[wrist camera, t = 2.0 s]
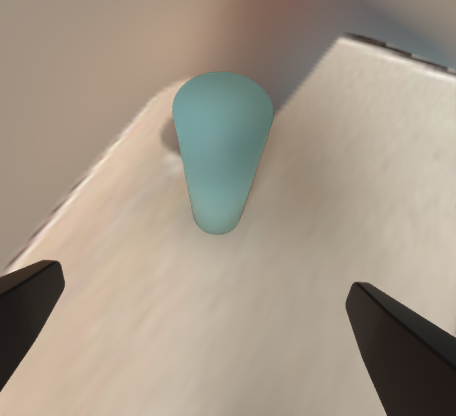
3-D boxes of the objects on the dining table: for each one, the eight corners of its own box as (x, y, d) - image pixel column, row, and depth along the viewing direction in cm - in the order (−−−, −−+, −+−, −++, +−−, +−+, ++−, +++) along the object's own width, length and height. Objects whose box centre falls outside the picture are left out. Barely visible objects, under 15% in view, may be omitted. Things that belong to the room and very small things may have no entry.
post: (223, 244, 22) (238, 169, 10) (183, 217, 23) (151, 116, 10) (249, 205, 23) (291, 100, 11) (211, 181, 24) (211, 58, 12)
